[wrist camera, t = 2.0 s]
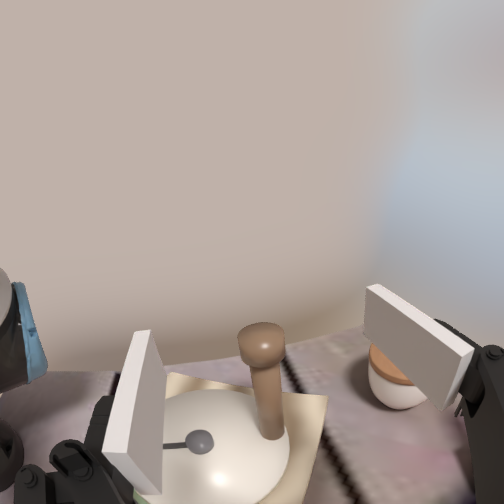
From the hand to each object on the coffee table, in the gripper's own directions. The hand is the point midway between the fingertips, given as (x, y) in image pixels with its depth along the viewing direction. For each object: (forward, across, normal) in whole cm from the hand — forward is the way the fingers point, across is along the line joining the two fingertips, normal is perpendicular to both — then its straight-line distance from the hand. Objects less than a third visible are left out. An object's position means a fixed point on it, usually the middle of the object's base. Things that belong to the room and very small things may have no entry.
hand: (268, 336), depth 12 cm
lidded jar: (+10, +19, -22) cm, 31 cm away
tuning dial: (+9, -8, -20) cm, 23 cm away
